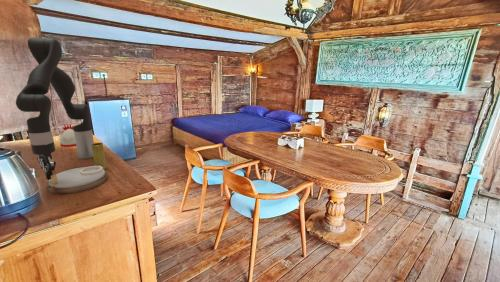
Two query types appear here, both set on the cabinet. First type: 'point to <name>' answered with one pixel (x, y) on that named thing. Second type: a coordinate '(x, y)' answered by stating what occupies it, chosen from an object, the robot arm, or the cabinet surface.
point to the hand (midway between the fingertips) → (49, 178)
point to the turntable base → (76, 189)
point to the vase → (99, 155)
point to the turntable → (77, 177)
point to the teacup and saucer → (59, 138)
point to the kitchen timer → (68, 137)
